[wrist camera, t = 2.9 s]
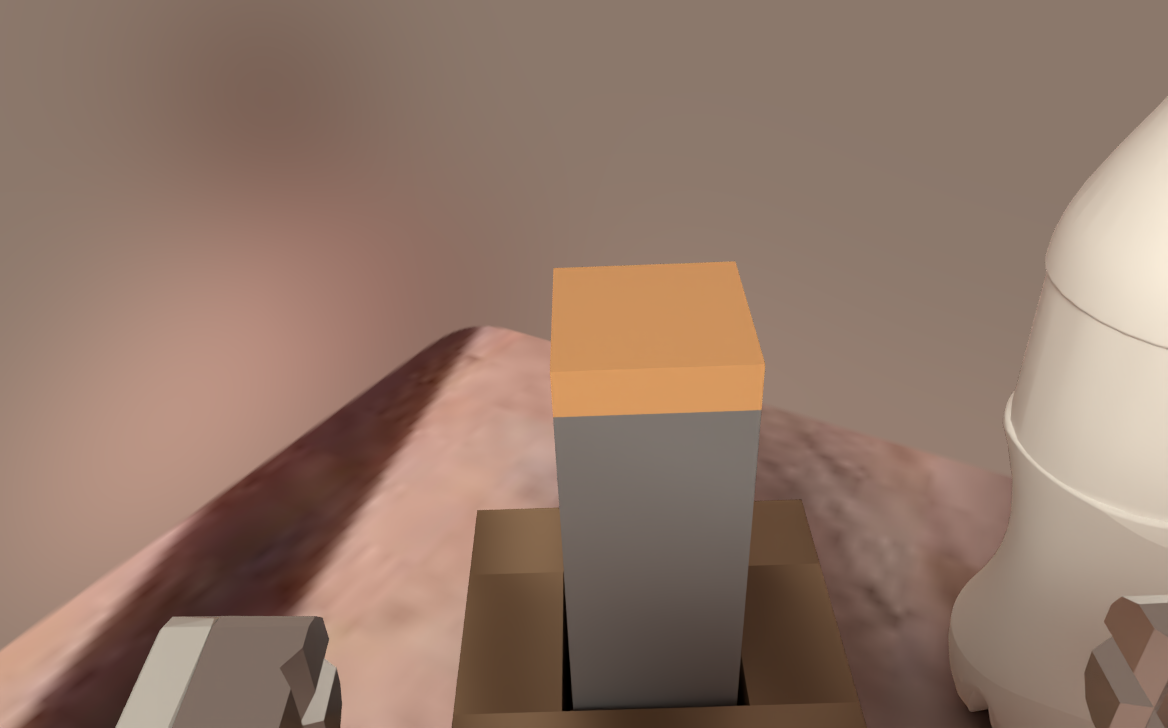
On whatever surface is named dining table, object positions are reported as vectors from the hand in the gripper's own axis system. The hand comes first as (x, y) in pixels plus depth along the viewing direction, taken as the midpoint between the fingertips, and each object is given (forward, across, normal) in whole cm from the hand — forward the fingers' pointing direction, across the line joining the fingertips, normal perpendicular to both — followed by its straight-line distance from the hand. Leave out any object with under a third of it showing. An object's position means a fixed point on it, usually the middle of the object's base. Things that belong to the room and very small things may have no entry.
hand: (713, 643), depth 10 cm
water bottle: (+14, -14, +20) cm, 28 cm away
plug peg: (+12, 0, +19) cm, 23 cm away
